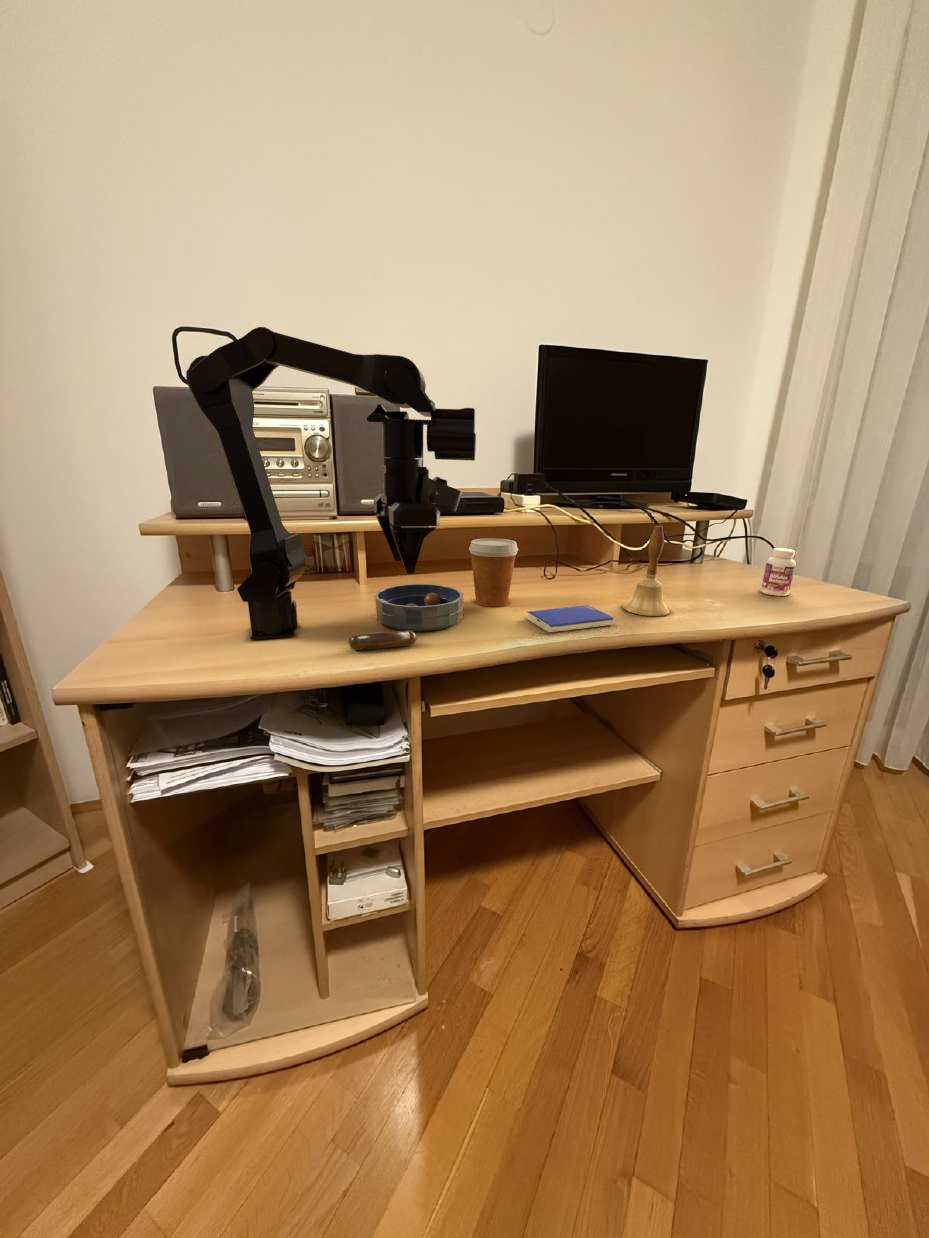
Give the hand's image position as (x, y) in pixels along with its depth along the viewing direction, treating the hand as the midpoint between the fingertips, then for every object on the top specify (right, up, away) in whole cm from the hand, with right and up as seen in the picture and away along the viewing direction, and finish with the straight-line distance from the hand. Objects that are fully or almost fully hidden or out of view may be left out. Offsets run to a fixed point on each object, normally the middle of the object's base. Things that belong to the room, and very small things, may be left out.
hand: (403, 566), depth 74 cm
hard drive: (+28, -9, +12) cm, 31 cm away
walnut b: (0, -8, +8) cm, 12 cm away
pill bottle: (+77, -3, +33) cm, 84 cm away
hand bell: (+44, -6, +19) cm, 48 cm away
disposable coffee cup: (+15, -5, +23) cm, 27 cm away
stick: (-3, -12, -1) cm, 13 cm away
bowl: (+1, -8, +12) cm, 14 cm away
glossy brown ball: (+3, -6, +15) cm, 17 cm away
